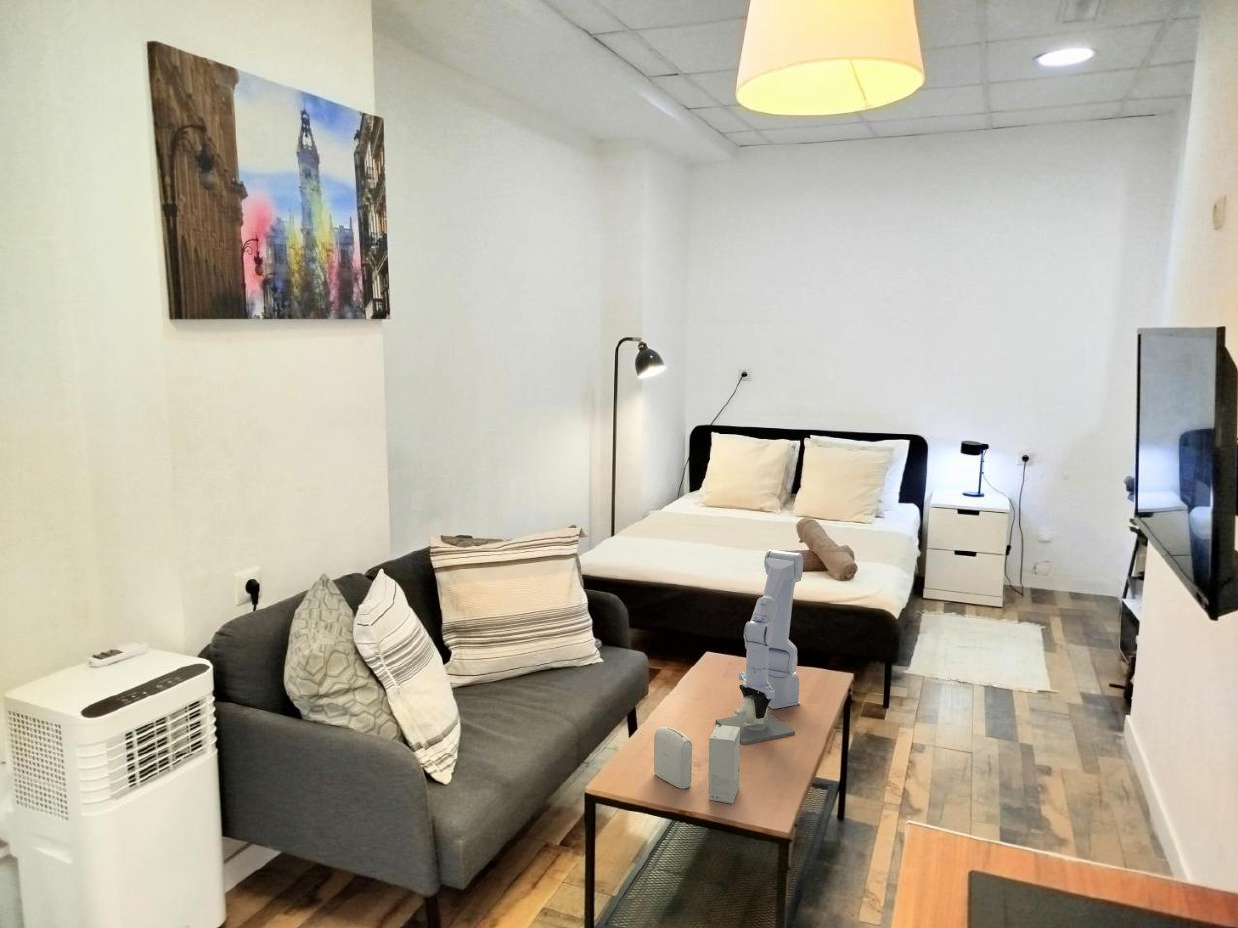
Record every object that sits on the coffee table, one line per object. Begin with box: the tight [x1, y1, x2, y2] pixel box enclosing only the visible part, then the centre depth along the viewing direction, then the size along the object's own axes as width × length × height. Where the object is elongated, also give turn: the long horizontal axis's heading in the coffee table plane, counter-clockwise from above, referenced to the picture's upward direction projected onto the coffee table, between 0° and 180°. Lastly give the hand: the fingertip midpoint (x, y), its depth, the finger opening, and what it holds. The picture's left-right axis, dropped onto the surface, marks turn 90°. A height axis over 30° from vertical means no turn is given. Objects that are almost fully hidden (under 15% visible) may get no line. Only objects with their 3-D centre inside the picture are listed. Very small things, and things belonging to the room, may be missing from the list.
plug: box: [733, 695, 769, 724], centre depth 229 cm, size 9×4×6 cm, turn 114°
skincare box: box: [708, 724, 741, 805], centre depth 196 cm, size 8×6×15 cm
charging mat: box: [715, 711, 796, 745], centre depth 231 cm, size 16×14×1 cm
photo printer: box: [653, 725, 693, 790], centre depth 202 cm, size 10×4×12 cm, turn 39°
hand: (755, 714), depth 230 cm, fingers closed on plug, 4 cm apart
